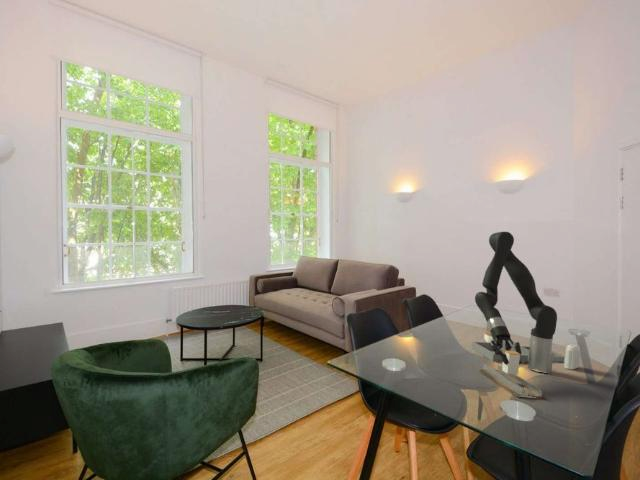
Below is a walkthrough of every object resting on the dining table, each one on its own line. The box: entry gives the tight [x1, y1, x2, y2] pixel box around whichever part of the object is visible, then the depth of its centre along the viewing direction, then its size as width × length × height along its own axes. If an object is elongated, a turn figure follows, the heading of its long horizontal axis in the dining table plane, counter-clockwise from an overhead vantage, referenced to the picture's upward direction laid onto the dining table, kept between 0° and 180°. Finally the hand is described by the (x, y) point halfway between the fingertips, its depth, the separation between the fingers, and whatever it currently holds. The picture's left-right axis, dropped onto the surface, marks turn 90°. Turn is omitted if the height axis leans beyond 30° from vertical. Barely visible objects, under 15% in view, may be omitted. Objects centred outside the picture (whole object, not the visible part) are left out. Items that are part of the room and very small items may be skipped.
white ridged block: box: [563, 343, 581, 370], centre depth 175 cm, size 10×4×12 cm, turn 123°
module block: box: [501, 350, 520, 375], centre depth 146 cm, size 5×4×9 cm
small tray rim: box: [520, 345, 565, 363], centre depth 191 cm, size 16×16×3 cm
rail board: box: [479, 363, 546, 400], centre depth 146 cm, size 12×26×4 cm, turn 6°
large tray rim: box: [471, 341, 529, 362], centre depth 186 cm, size 20×20×4 cm
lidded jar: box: [483, 330, 493, 343], centre depth 205 cm, size 11×11×9 cm
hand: (513, 364), depth 145 cm, fingers closed on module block, 5 cm apart
